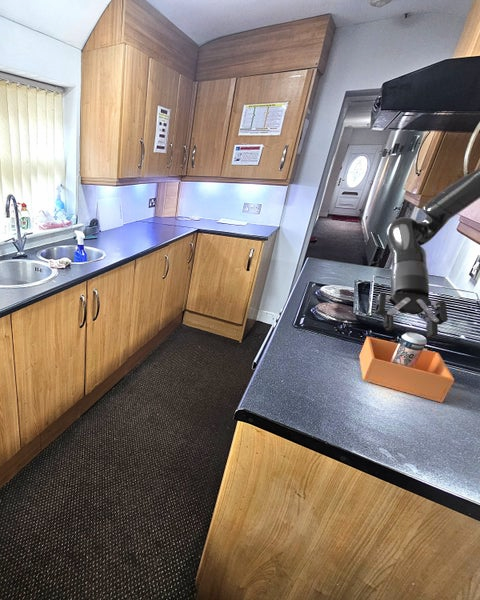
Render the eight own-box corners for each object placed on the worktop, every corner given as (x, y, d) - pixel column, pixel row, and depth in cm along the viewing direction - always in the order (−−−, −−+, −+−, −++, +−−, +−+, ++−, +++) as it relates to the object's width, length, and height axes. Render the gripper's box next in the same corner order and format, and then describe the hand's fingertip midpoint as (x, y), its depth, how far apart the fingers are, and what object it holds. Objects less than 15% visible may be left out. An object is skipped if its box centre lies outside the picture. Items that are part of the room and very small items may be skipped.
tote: (428, 373, 91) (438, 352, 89) (442, 402, 80) (454, 379, 77) (359, 355, 99) (367, 336, 97) (363, 380, 88) (372, 358, 85)
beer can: (387, 375, 89) (404, 337, 84) (385, 366, 92) (401, 329, 87) (411, 381, 86) (430, 342, 81) (407, 372, 90) (426, 334, 85)
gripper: (384, 270, 92) (383, 322, 87) (452, 277, 86) (455, 334, 81) (371, 282, 98) (370, 332, 93) (433, 290, 93) (436, 343, 88)
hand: (410, 333), depth 87 cm, fingers open, 8 cm apart
